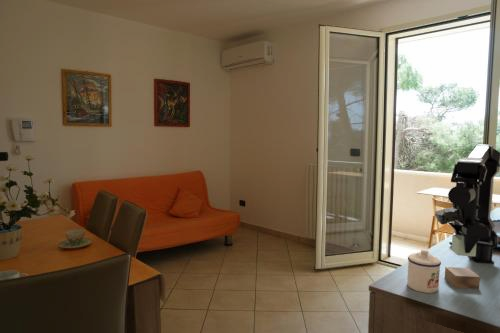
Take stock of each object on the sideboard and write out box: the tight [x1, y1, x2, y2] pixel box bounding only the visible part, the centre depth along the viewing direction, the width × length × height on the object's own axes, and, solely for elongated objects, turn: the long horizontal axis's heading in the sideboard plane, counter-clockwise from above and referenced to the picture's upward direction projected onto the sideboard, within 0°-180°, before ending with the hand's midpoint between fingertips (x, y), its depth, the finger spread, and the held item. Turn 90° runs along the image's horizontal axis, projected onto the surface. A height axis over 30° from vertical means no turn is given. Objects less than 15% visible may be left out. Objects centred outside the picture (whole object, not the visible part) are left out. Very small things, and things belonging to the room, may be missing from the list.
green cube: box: [451, 234, 477, 257], centre depth 110 cm, size 5×5×5 cm
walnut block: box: [444, 266, 481, 290], centre depth 111 cm, size 7×7×4 cm
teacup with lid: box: [406, 249, 442, 294], centre depth 109 cm, size 12×9×12 cm
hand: (463, 249), depth 110 cm, fingers closed on green cube, 5 cm apart
